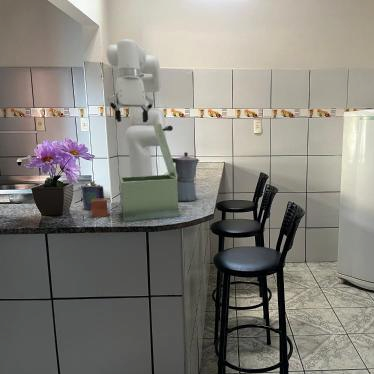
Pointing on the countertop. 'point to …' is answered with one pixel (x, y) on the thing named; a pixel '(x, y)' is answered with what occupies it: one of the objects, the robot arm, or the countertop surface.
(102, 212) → the block
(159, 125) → the breadbox lid
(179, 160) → the moka pot
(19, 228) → the countertop surface
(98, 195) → the flask
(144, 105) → the robot arm
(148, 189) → the box
